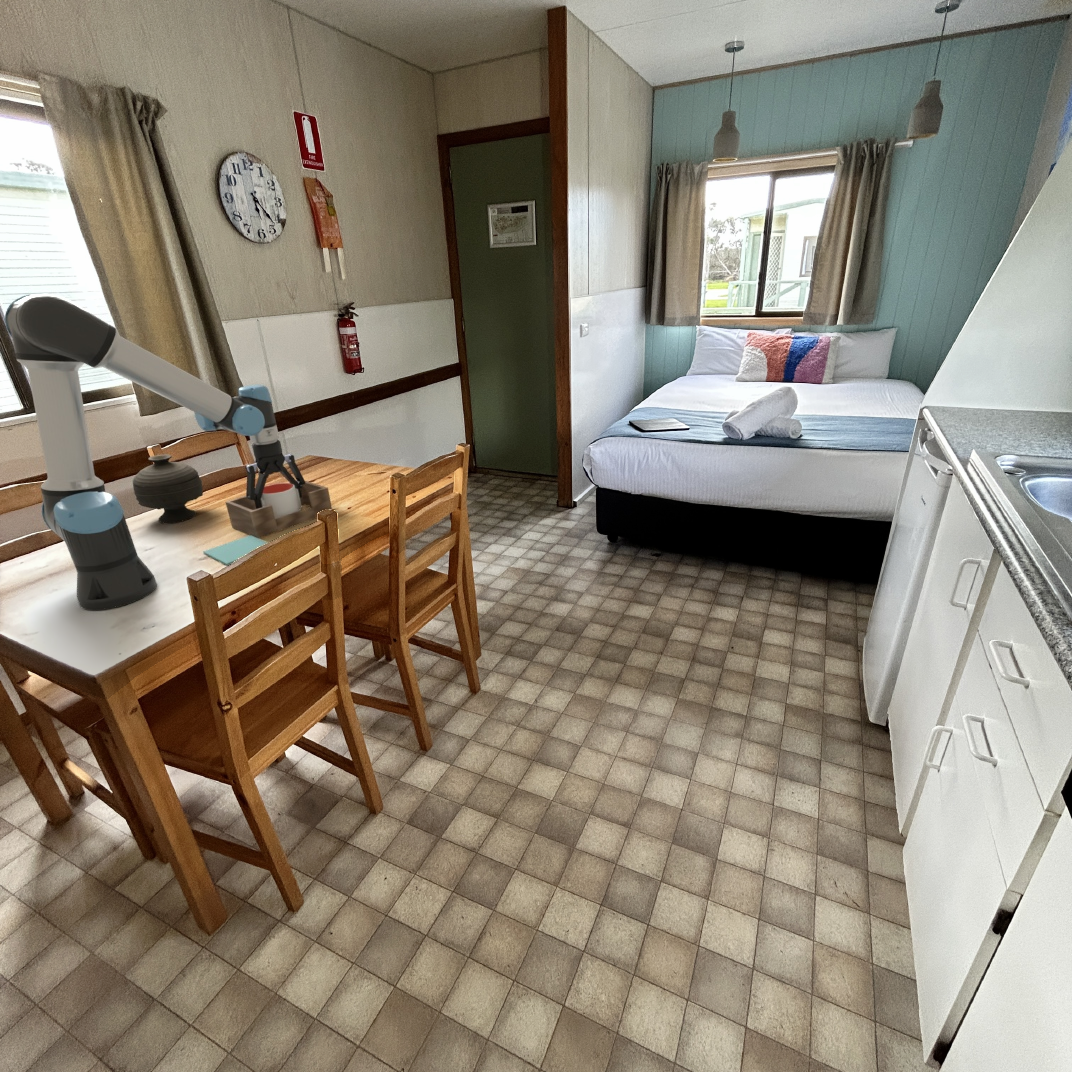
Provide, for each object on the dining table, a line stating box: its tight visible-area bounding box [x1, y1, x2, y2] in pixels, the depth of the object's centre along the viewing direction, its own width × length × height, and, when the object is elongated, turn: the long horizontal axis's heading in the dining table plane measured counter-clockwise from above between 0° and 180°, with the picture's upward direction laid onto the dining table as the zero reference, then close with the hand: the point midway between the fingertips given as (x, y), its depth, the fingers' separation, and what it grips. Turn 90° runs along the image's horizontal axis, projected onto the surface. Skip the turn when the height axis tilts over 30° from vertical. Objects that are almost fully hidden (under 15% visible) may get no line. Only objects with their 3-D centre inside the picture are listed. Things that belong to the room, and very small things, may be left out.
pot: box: [132, 453, 204, 524], centre depth 178 cm, size 18×18×20 cm
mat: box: [202, 535, 269, 566], centre depth 156 cm, size 13×13×1 cm
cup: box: [261, 482, 301, 519], centre depth 174 cm, size 10×10×10 cm
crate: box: [224, 480, 333, 539], centre depth 174 cm, size 24×15×8 cm, turn 142°
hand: (282, 514), depth 175 cm, fingers closed on cup, 10 cm apart
